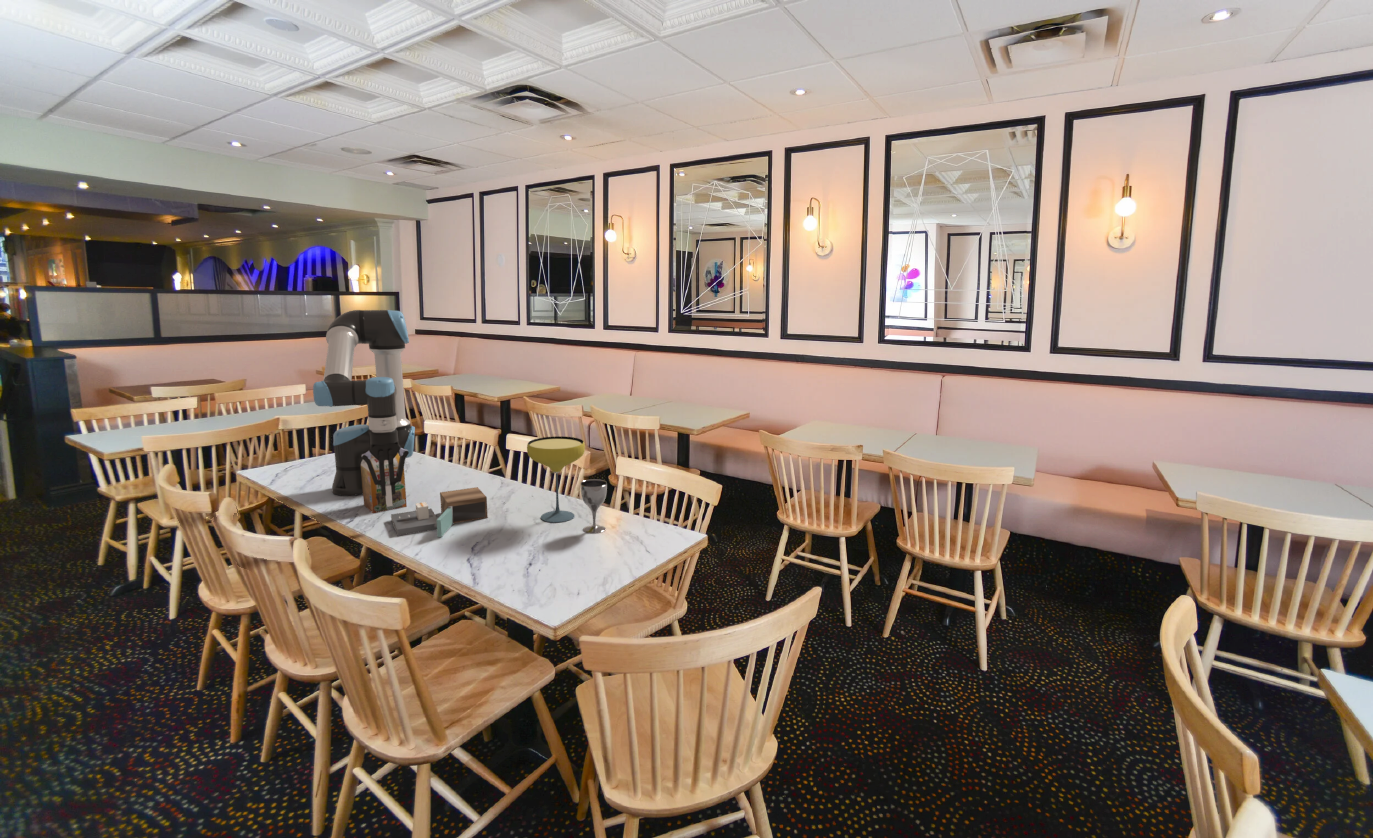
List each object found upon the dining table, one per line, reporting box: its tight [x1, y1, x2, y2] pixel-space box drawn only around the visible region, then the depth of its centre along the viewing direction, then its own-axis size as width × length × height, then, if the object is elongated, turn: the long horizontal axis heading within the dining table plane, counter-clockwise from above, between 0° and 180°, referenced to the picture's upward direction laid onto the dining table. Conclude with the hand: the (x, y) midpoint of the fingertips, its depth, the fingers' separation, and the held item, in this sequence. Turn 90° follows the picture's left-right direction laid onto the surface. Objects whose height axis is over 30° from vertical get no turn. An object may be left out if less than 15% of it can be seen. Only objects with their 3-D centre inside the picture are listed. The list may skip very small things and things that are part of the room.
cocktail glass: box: [526, 436, 586, 524], centre depth 202 cm, size 18×18×25 cm
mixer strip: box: [390, 508, 439, 537], centre depth 196 cm, size 15×12×2 cm
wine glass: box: [580, 478, 608, 535], centre depth 193 cm, size 8×8×15 cm
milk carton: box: [361, 453, 407, 514], centre depth 210 cm, size 11×11×19 cm
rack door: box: [434, 506, 454, 538], centre depth 190 cm, size 2×12×6 cm, turn 4°
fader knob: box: [415, 501, 429, 520], centre depth 196 cm, size 4×3×4 cm
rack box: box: [439, 486, 489, 524], centre depth 204 cm, size 12×12×7 cm
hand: (389, 504), depth 191 cm, fingers closed
